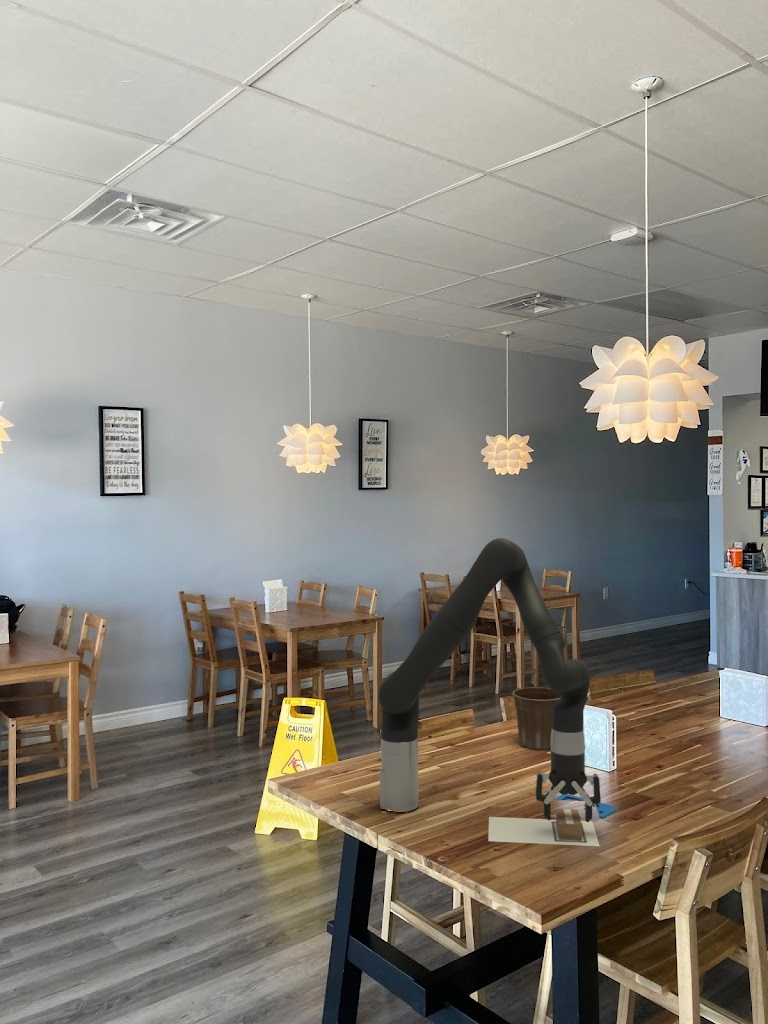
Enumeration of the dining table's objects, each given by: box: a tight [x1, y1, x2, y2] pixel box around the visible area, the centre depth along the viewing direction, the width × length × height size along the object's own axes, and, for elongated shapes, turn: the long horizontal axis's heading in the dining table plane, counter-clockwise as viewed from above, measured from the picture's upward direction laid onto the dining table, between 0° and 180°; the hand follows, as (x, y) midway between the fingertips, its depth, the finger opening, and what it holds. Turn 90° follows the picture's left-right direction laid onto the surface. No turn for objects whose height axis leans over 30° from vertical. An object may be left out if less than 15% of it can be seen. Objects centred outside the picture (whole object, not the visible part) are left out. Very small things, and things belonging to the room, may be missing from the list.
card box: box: [555, 808, 582, 841], centre depth 185 cm, size 9×5×4 cm, turn 172°
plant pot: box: [512, 686, 562, 751], centre depth 253 cm, size 16×16×16 cm
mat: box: [487, 816, 600, 847], centre depth 185 cm, size 24×14×1 cm, turn 82°
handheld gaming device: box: [552, 794, 616, 820], centre depth 201 cm, size 8×1×15 cm
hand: (567, 819), depth 185 cm, fingers open, 8 cm apart
